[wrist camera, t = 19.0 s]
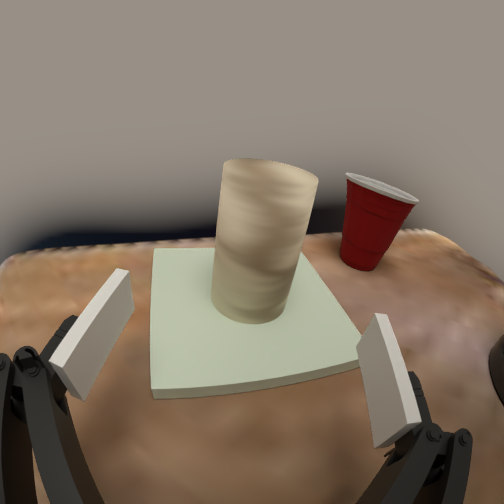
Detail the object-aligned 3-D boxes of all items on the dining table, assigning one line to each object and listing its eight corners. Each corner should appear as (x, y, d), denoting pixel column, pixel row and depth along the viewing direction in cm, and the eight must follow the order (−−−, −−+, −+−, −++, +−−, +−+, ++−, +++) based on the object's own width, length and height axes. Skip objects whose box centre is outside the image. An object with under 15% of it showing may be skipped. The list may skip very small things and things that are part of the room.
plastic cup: (393, 259, 40) (419, 191, 34) (385, 292, 32) (421, 206, 26) (335, 234, 45) (354, 166, 38) (313, 259, 36) (336, 173, 30)
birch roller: (272, 274, 29) (296, 163, 23) (296, 320, 24) (336, 189, 18) (206, 276, 27) (217, 156, 21) (217, 327, 22) (234, 180, 15)
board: (295, 257, 36) (298, 247, 35) (367, 364, 21) (374, 354, 21) (154, 259, 31) (154, 248, 30) (154, 399, 16) (151, 389, 15)
